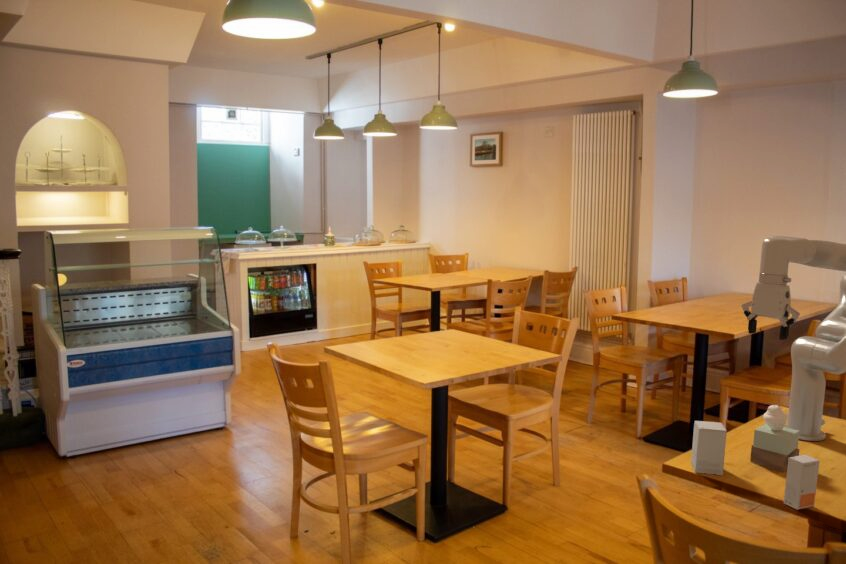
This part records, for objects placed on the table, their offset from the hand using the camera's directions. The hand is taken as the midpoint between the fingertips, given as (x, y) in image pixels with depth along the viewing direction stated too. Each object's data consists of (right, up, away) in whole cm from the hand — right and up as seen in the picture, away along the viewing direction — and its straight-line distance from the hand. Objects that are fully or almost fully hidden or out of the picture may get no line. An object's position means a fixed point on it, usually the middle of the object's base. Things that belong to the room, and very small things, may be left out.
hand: (767, 336), depth 219 cm
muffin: (-4, -25, -13) cm, 29 cm away
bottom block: (-4, -35, -12) cm, 38 cm away
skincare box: (-11, -39, -39) cm, 56 cm away
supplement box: (-25, -36, -18) cm, 47 cm away
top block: (-4, -30, -13) cm, 33 cm away
